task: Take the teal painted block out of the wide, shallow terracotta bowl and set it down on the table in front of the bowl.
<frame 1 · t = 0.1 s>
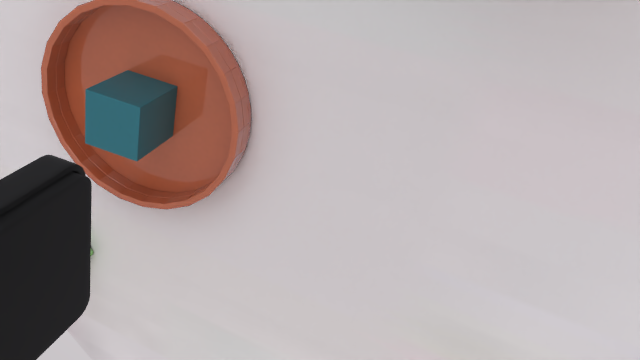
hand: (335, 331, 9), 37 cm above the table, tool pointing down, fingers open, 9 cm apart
bowl: (154, 101, 52), on the table
block: (150, 103, 52), point 1 cm above the table, touching bowl
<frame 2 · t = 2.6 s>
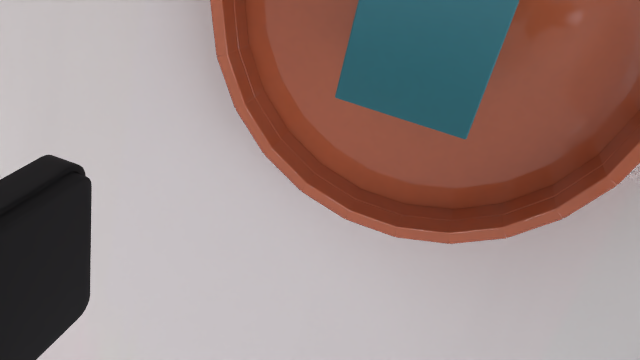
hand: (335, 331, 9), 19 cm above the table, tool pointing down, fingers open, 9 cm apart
bowl: (440, 19, 25), on the table
block: (438, 21, 24), point 1 cm above the table, touching bowl
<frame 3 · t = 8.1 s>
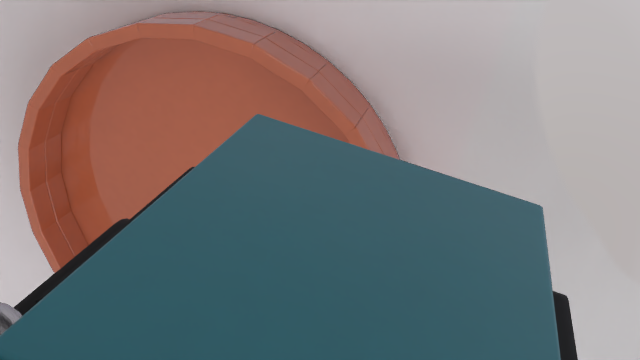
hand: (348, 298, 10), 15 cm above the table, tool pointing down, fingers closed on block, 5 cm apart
bowl: (222, 204, 29), on the table
block: (358, 271, 11), point 14 cm above the table, touching gripper
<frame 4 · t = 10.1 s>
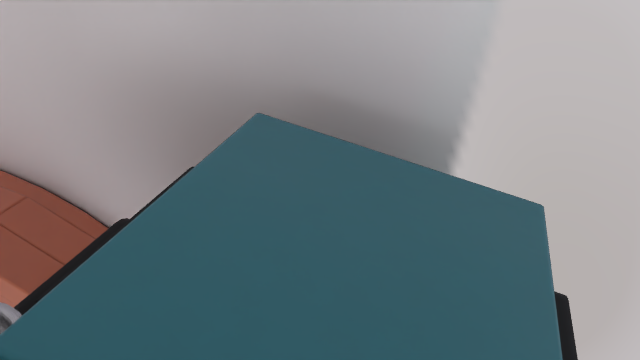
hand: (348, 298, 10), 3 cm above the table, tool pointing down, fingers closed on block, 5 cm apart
block: (359, 271, 11), point 2 cm above the table, touching gripper
when the fingers open (1 cm above the table, at t = 11.3 s): block stays where it is, on the table.
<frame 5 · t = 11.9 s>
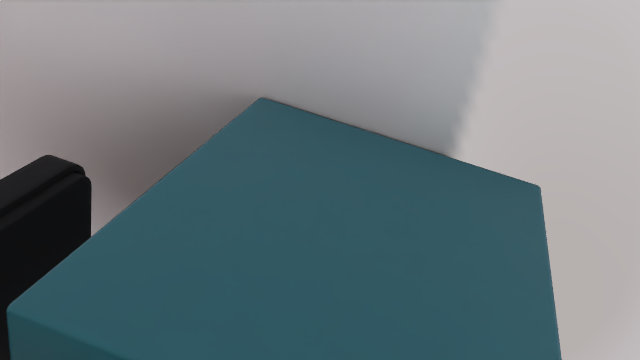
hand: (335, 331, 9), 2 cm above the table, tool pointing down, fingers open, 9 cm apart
block: (360, 253, 11), on the table
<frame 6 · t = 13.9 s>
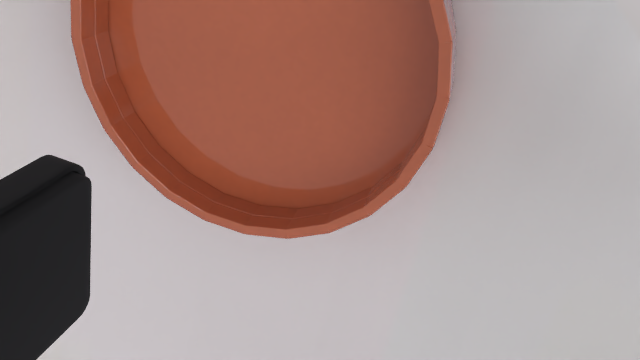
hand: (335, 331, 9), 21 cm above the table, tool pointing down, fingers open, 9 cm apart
bowl: (268, 51, 30), on the table
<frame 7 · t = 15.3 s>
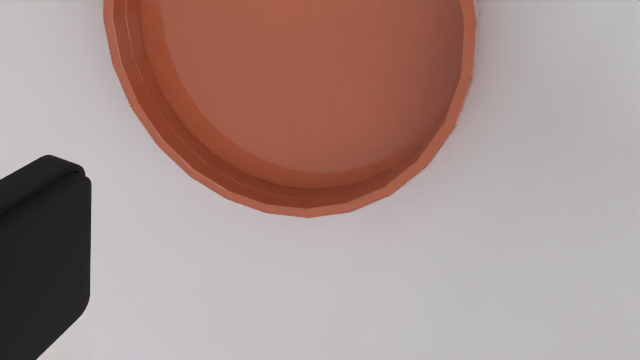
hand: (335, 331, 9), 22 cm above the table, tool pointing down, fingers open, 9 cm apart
bowl: (293, 33, 31), on the table
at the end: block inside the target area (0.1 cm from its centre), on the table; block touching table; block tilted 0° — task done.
